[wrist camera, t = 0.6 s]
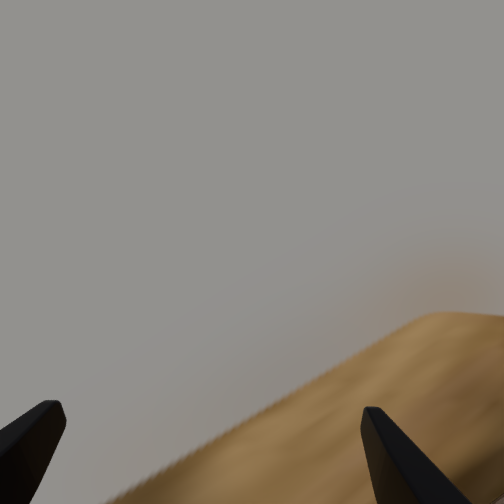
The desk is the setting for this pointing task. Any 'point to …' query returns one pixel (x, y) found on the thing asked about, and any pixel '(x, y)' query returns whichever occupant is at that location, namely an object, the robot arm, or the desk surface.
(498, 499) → the bore block
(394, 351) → the desk surface
